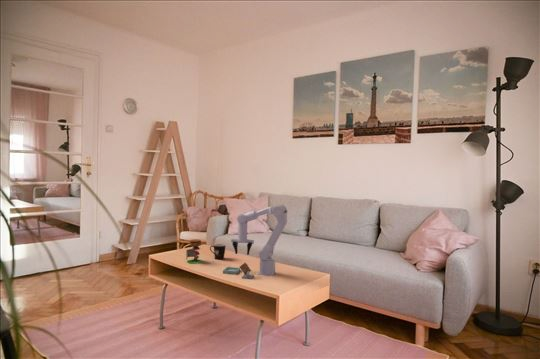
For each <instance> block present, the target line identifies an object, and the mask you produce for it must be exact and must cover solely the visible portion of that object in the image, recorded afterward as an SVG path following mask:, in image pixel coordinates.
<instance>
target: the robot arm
mask: <svg viewBox="0 0 540 359" xmlns="http://www.w3.org/2000/svg"><path fill="white" fill-rule="evenodd" d="M267 214H269V215H273V216H274V217H275V219H276V221H277V223H276V225H275V226H274V228H273V230H272V232H271V234H270V236H269V238H268V240H267V242H266V243H265V245H264V246H263V248H262V249H260V250H259V251H258V257H259V272H258V273H257V275H262V276H274V274H275V273H276V260H275V259H272V256H273V255H274V250H275V246H276V243H278V242H277V241H278V240H279V238H280V236H281V234H282V233H283V231H284V229H285V226H286V225H287V223H288V209H287V206H285V205H284V204H278V205H273V206H267V207H265V208H263V209H259V210H255V209H254V210H253V209H251V210H250V211H248V212H244V213H240V214H239V215H238V216H237V217H236V221H237V223H238V226H237V227H238V229H237V230H238V231H237V232H238V233H237V235H238V236H237V238H231V239H230V243H232V244H231V245H232V247H233V249H234V254H235V255H238V245H239V244H240V243H241V244H247V245H246V247H247V252H246V254H247V256H248V255H250V251H251V248H252V246H253V244H254V243H255V240H253V239H248V222H252V221H254V220H258V218H259V217H260V216H263V215H267Z"/></svg>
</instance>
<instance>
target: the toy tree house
mask: <svg viewBox="0 0 540 359" xmlns="http://www.w3.org/2000/svg"><path fill="white" fill-rule="evenodd" d="M201 245H202V240H201V239H190V240H189V246H190V247H191V248H189V249H186V250H185V260H186V262H187V263H188V264H190V265H191V264H194V265H196V264H197V263H198V264H201V263H203V262H204V260H203V259H198V258H200V256H199V255H200V252H199V250H201V248H200V247H201ZM188 258H192V259H189V260H188ZM198 264H197V265H198Z"/></svg>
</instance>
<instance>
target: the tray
mask: <svg viewBox="0 0 540 359" xmlns="http://www.w3.org/2000/svg"><path fill="white" fill-rule="evenodd" d="M240 271H241V268H240V267H233V266H226V267H225V268H224V269H223V270H222V274H225V275H226V274H228V275H237V274H239V272H240Z"/></svg>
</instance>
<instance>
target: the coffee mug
mask: <svg viewBox="0 0 540 359" xmlns="http://www.w3.org/2000/svg"><path fill="white" fill-rule="evenodd" d="M212 248H213V250H212ZM209 250H210V252H211V253H213V255H214V260H218V261H219V260H220V261H221V260H224V259H225V254H226V244H224V243H216V244H213V245H210V247H209Z"/></svg>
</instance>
